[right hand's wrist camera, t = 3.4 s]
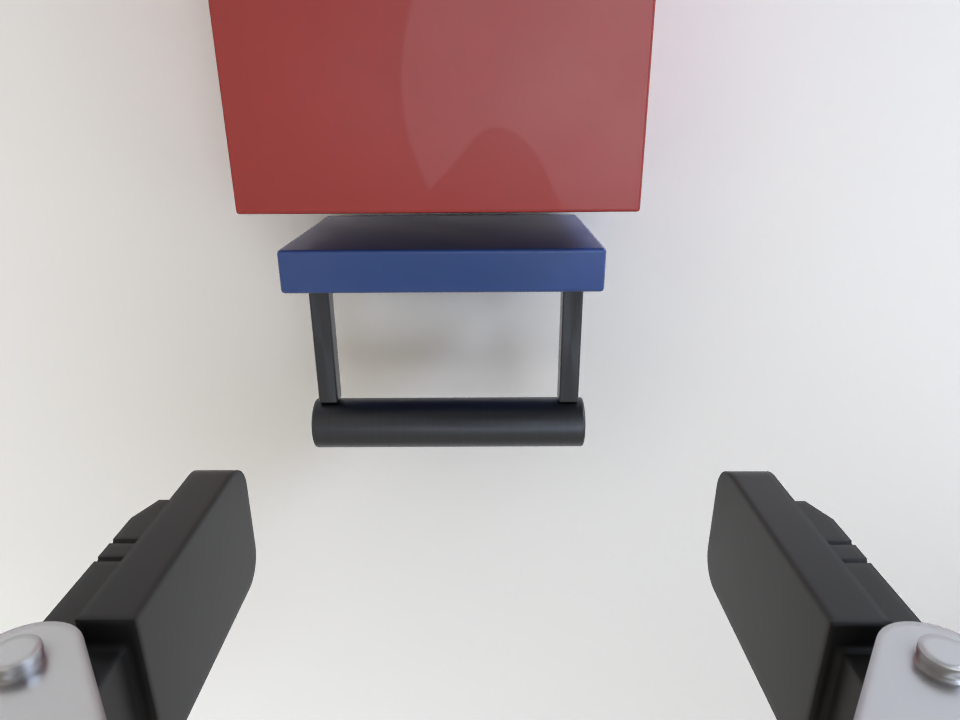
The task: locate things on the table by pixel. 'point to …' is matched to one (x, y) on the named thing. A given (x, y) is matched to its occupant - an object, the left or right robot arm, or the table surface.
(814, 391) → the table surface
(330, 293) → the drawer
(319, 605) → the table surface
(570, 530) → the table surface
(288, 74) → the cabinet
